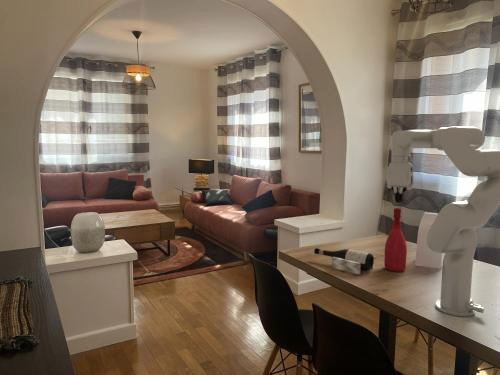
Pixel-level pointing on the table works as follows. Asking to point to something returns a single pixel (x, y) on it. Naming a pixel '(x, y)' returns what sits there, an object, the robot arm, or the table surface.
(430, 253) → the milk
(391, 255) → the wine bottle
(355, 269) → the cradle
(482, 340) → the table surface
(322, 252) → the wine bottle
